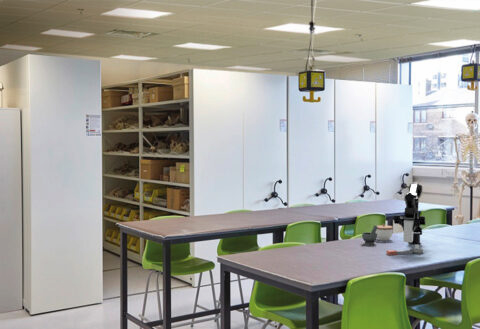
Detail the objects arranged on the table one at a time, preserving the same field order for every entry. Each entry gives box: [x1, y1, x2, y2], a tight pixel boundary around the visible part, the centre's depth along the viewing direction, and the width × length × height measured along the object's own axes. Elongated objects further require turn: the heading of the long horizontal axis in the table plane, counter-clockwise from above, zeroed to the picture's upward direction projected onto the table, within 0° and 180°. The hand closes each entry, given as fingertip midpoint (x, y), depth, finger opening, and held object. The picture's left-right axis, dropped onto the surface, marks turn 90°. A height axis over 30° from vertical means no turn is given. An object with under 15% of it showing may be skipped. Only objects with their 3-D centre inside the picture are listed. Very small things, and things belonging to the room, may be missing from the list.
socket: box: [402, 220, 414, 243], centre depth 363 cm, size 5×5×13 cm
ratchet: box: [386, 244, 424, 256], centre depth 359 cm, size 23×7×5 cm, turn 104°
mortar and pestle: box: [361, 225, 378, 246], centre depth 395 cm, size 11×9×12 cm
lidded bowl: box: [375, 223, 394, 242], centre depth 411 cm, size 13×13×11 cm
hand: (408, 230), depth 361 cm, fingers closed on socket, 5 cm apart
